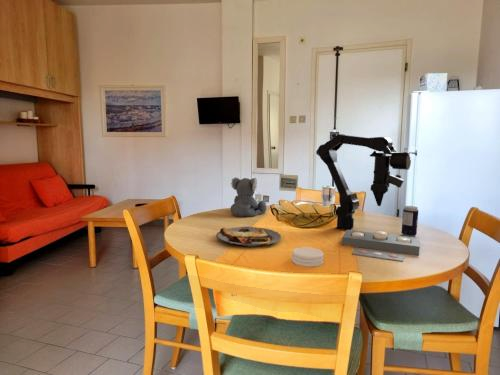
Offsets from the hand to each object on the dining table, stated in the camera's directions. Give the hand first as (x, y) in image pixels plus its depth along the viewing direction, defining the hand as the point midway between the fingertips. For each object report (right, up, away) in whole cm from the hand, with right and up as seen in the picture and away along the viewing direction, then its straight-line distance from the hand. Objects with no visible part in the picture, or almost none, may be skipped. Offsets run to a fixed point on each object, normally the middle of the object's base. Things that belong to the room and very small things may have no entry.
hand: (379, 205), depth 143 cm
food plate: (-54, -13, -8) cm, 56 cm away
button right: (+2, -14, -17) cm, 22 cm away
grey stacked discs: (-35, -17, -32) cm, 50 cm away
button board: (-5, -14, -14) cm, 20 cm away
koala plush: (-56, -7, +37) cm, 67 cm away
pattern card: (-10, -15, -24) cm, 31 cm away
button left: (-12, -13, -11) cm, 21 cm away
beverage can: (+12, -12, +1) cm, 18 cm away
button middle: (-5, -12, -14) cm, 19 cm away
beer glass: (-13, -7, +36) cm, 39 cm away
